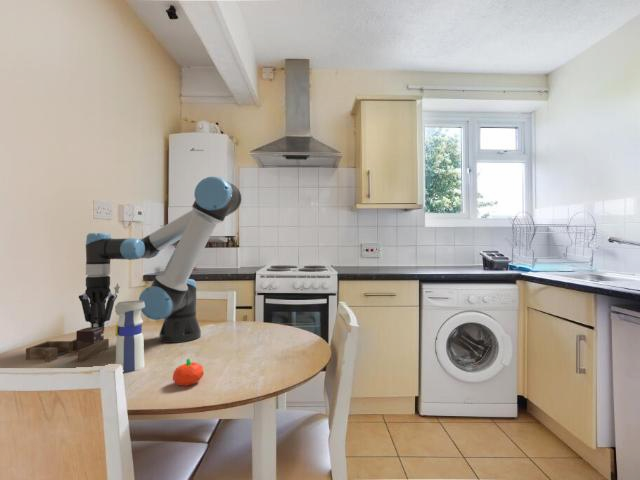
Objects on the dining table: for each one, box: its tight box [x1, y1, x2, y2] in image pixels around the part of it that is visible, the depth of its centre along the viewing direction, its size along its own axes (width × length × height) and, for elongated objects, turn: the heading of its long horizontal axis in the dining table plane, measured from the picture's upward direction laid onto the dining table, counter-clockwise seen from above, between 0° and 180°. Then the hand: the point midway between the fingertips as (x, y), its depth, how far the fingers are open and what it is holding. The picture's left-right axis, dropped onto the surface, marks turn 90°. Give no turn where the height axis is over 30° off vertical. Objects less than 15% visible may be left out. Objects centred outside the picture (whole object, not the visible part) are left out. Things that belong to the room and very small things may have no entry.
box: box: [75, 326, 105, 353], centre depth 124 cm, size 6×6×7 cm
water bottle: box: [113, 282, 145, 373], centre depth 105 cm, size 8×9×25 cm
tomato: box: [172, 358, 204, 386], centre depth 93 cm, size 7×8×6 cm
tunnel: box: [25, 338, 110, 363], centre depth 118 cm, size 20×14×4 cm
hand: (97, 341), depth 128 cm, fingers closed
